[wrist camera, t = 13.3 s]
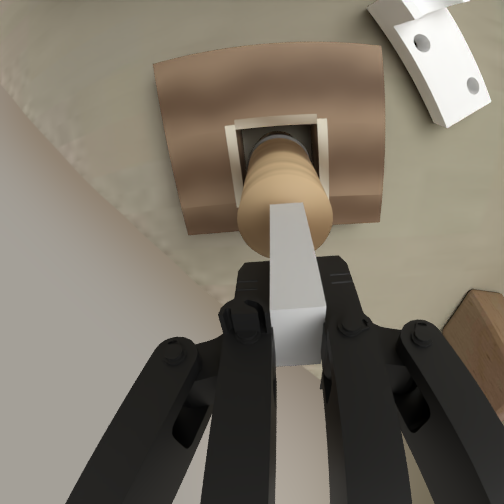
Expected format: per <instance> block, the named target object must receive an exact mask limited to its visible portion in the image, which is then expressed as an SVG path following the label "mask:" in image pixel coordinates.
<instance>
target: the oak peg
mask: <svg viewBox="0 0 504 504" xmlns="http://www.w3.org/2000/svg"><path fill="white" fill-rule="evenodd" d="M301 202H303V205H304V209H305V213H306V217H307V221H308V225H309V229H310V233H311V238H312V242H313V246H314V250H316V249H317V248H319V247H320V246H321V245H322V244H323V242H324V241H325V240H326V238H327V237H328V235H329V233H330V230H331V227H332V222H333V212H332V207H331V204H330V201H329V199H328V197H327V195H326V192H325V190H324V188H323V186H322V184H321V182H320V180H319V177H318V175H317V173H316V171H315V169H314V167H313V165H312V163H311V161H310V158H309V155H308V152H307V150H306V149H305V147H304V146H303V144H302V143H301V142H300V141H298V140H297V139H295V138H294V137H293V136H291V135H290V134H288V133H286V132H282V131H273V132H270V133H267V134H266V135H264V136H263V137H262V138H261V139H260V140H259V141H258V142H257V143H256V144H255V146H254V147H253V149H252V150H251V153H250V156H249V161H248V170H247V174H246V178H245V183H244V187H243V191H242V195H241V200H240V204H239V209H238V213H237V223H238V228H239V231H240V234H241V236H242V238H243V239H244V241H245V242H246V243H247V245H248V246H249V247H250V248H252V249H253V250H254V251H255V252H257V253H259V254H260V255H263V256H265V257H268V258H270V205H271V204H285V203H301Z"/></svg>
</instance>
